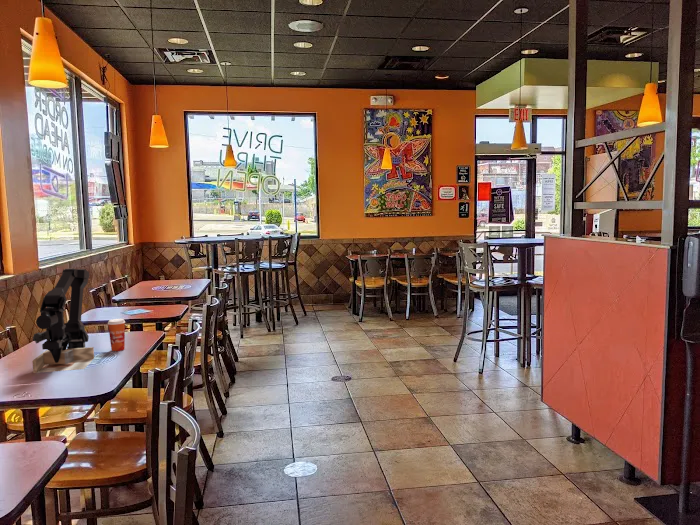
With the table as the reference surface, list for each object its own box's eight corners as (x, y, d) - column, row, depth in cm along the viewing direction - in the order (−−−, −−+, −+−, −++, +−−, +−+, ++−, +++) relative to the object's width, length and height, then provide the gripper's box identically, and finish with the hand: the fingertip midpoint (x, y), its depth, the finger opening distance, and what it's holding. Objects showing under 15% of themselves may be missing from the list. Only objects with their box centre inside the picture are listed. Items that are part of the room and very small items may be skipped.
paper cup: (109, 352, 244) (107, 322, 243) (108, 348, 251) (106, 319, 249) (128, 350, 247) (126, 320, 246) (126, 346, 254) (124, 317, 253)
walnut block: (50, 361, 224) (49, 350, 224) (73, 360, 224) (73, 349, 224) (43, 364, 220) (43, 353, 219) (67, 363, 219) (66, 352, 219)
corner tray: (94, 359, 232) (93, 347, 232) (84, 370, 216) (83, 357, 215) (47, 362, 228) (46, 350, 228) (33, 374, 212) (32, 360, 211)
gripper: (42, 320, 228) (44, 356, 229) (26, 330, 210) (29, 368, 211) (70, 319, 230) (73, 354, 232) (57, 328, 212) (60, 366, 213)
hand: (58, 360), depth 222 cm, fingers closed on walnut block, 5 cm apart
